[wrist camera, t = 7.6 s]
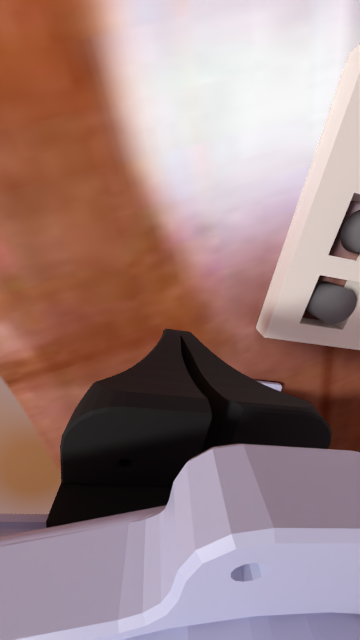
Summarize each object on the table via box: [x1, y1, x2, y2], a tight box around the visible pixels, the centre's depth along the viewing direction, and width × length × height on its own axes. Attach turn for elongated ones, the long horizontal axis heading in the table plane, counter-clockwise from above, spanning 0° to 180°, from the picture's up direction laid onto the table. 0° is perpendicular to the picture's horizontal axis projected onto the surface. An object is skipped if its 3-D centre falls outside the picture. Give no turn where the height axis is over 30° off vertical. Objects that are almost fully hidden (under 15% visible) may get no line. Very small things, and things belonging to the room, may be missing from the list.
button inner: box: [305, 281, 357, 324], centre depth 20 cm, size 3×3×2 cm
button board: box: [256, 44, 360, 350], centre depth 18 cm, size 20×10×2 cm, turn 170°
